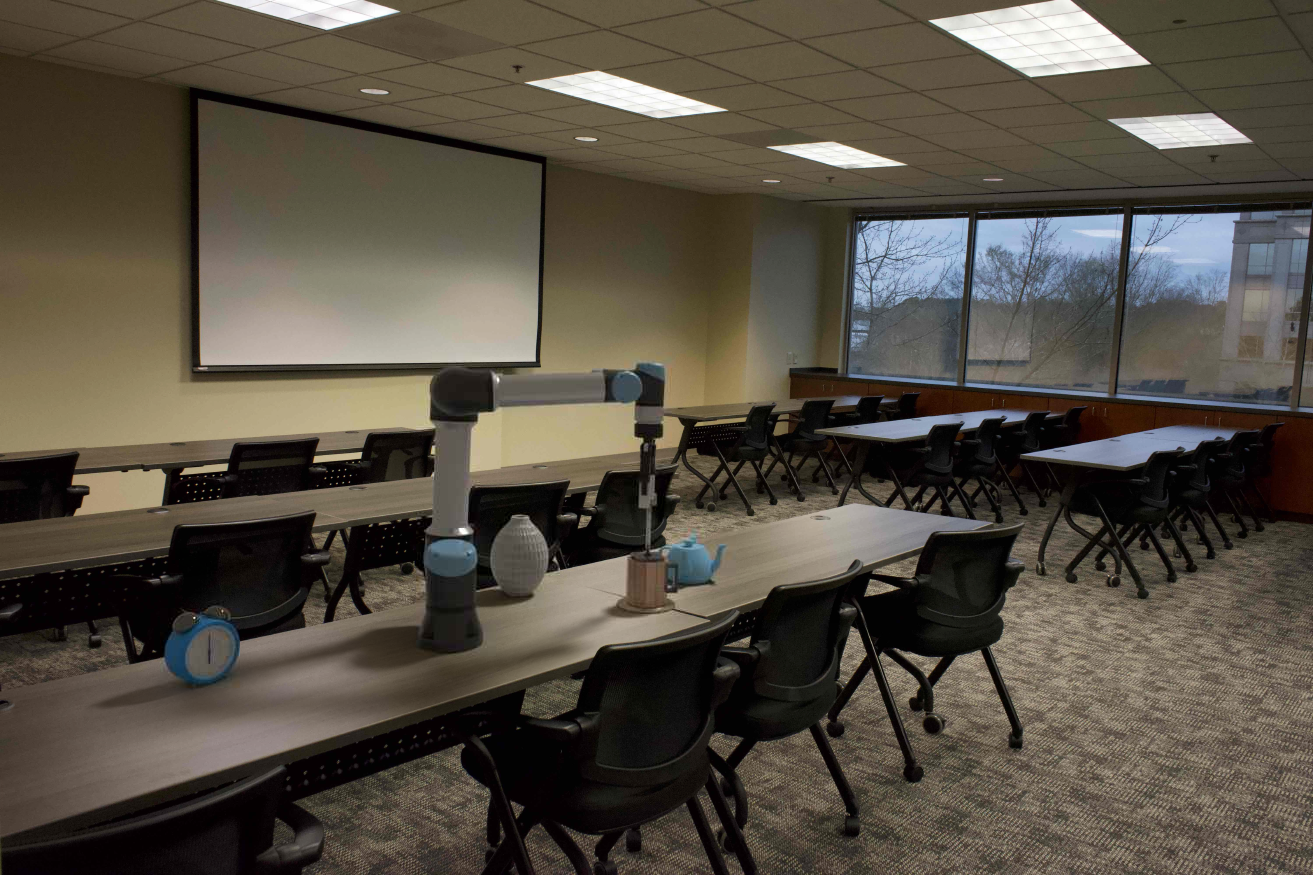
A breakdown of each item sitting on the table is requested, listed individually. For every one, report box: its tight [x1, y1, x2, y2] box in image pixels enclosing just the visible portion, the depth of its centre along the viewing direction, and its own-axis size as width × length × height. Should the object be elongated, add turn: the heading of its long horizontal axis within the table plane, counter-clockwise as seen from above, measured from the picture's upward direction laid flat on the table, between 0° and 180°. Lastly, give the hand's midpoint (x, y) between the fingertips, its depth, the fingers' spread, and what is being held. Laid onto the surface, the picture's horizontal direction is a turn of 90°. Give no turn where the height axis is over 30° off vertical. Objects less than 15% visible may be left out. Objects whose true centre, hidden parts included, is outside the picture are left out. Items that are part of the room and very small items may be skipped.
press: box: [616, 551, 679, 614], centre depth 255 cm, size 16×16×14 cm
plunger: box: [643, 492, 658, 562], centre depth 254 cm, size 7×7×20 cm
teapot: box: [658, 533, 729, 585], centre depth 285 cm, size 17×19×12 cm
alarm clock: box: [163, 605, 241, 689], centre depth 189 cm, size 13×6×15 cm, turn 148°
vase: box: [489, 514, 549, 597], centre depth 263 cm, size 16×16×22 cm
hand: (646, 503), depth 242 cm, fingers open, 13 cm apart
